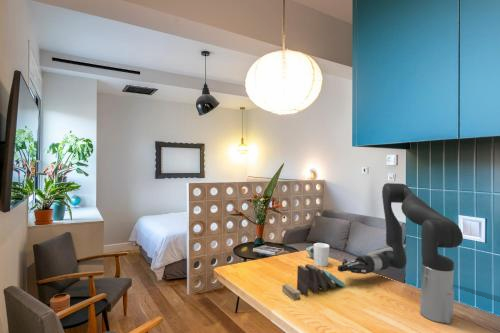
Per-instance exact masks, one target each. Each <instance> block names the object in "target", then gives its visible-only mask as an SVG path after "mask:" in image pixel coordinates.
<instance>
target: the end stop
mask: <svg viewBox="0 0 500 333" xmlns="http://www.w3.org/2000/svg"><path fill="white" fill-rule="evenodd" d="M281 290H282V292H283V294H284V295H287V296H288V297H289V298H291V300H293V301H296V300H299V299H301V293H300V291H298V290H297V288H295V287H294V286H293V285H291V284H290V283H288V284H287V283H286V284H282V289H281Z"/></svg>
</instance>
